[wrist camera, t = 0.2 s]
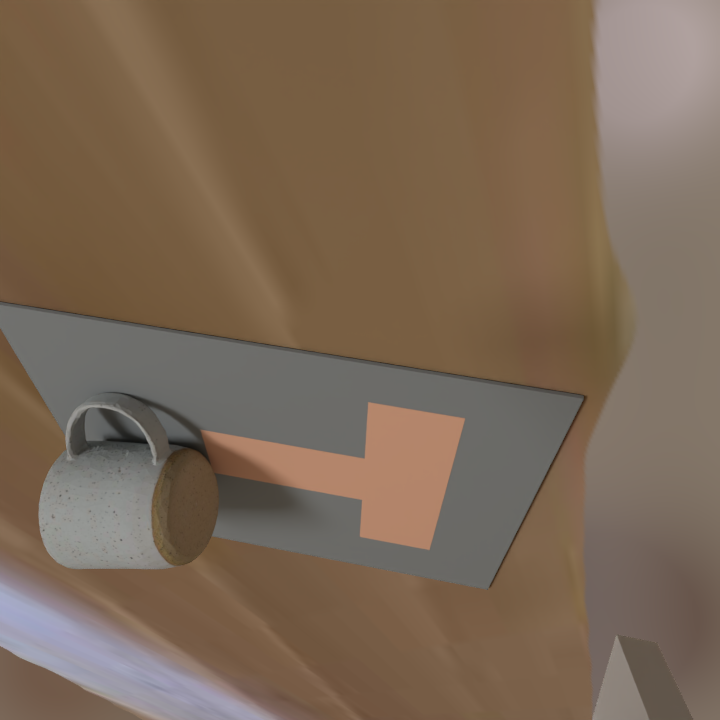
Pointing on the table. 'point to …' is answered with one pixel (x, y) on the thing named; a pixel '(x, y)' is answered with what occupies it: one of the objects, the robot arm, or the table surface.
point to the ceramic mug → (127, 496)
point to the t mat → (316, 439)
